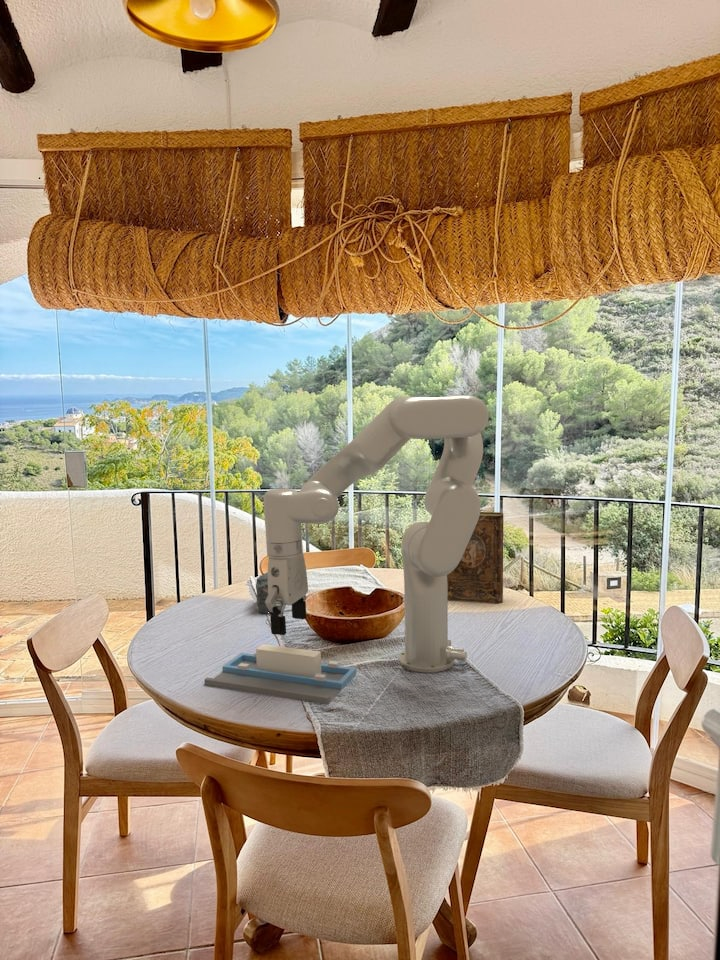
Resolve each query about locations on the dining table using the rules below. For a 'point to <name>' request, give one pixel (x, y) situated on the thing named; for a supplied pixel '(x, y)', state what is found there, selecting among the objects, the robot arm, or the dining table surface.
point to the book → (480, 564)
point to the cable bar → (288, 660)
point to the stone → (262, 593)
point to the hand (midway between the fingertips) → (289, 626)
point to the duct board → (282, 680)
